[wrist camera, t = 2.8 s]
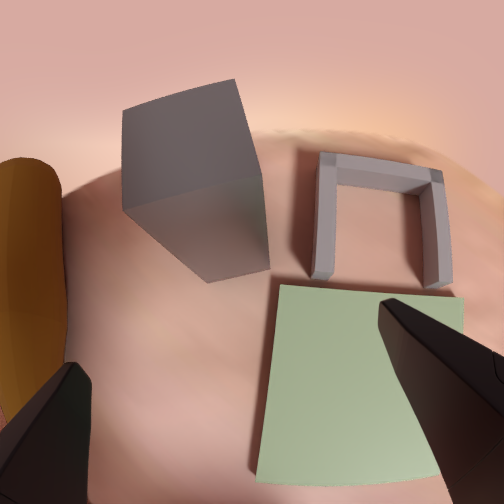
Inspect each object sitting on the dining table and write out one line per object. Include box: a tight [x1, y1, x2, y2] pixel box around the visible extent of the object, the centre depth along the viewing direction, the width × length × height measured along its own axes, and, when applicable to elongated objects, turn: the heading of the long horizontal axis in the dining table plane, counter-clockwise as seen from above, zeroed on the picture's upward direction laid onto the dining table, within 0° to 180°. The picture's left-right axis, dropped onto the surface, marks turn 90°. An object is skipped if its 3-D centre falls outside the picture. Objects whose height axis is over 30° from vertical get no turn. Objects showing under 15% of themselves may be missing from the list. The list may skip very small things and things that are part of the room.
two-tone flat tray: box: [255, 151, 464, 486], centre depth 19 cm, size 24×14×2 cm, turn 173°
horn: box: [0, 157, 67, 424], centre depth 19 cm, size 8×10×25 cm
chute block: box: [122, 79, 270, 283], centre depth 16 cm, size 4×4×13 cm
